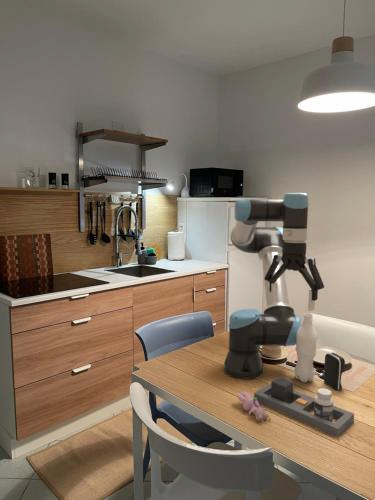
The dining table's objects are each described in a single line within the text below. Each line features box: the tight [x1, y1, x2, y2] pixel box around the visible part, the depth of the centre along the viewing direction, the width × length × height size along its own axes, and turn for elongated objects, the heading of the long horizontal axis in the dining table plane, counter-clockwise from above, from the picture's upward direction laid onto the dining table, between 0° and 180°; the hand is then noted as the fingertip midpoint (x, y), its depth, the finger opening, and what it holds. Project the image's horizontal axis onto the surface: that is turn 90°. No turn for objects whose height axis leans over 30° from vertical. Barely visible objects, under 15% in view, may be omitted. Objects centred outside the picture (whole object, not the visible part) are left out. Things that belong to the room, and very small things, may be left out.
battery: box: [323, 352, 346, 391], centre depth 135 cm, size 7×4×11 cm, turn 20°
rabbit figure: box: [236, 391, 271, 425], centre depth 118 cm, size 6×6×15 cm
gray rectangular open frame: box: [253, 376, 355, 438], centre depth 119 cm, size 28×11×7 cm, turn 45°
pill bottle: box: [313, 387, 334, 422], centre depth 114 cm, size 5×5×9 cm
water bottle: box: [293, 312, 318, 383], centre depth 138 cm, size 7×7×25 cm
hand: (292, 306), depth 125 cm, fingers open, 13 cm apart
